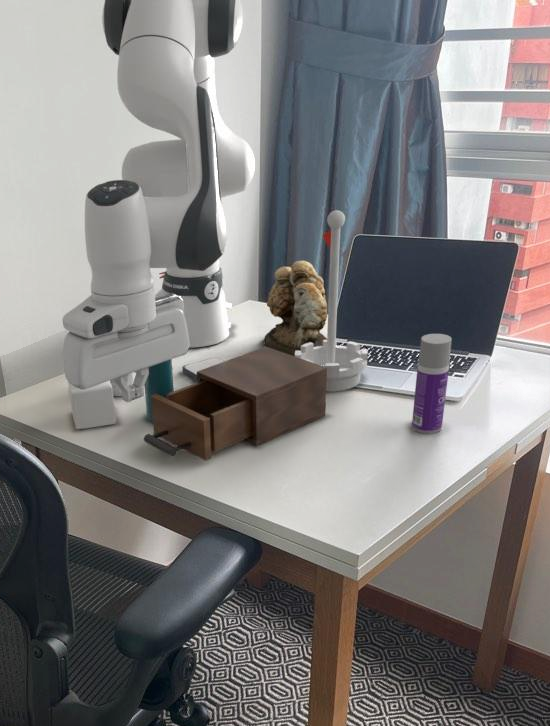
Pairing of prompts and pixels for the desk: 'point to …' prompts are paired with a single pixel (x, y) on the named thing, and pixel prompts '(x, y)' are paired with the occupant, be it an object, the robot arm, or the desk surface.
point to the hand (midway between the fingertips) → (133, 398)
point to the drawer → (200, 419)
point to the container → (431, 383)
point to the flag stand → (338, 359)
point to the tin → (158, 383)
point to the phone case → (199, 367)
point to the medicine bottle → (92, 405)
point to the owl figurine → (297, 308)
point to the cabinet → (273, 390)
